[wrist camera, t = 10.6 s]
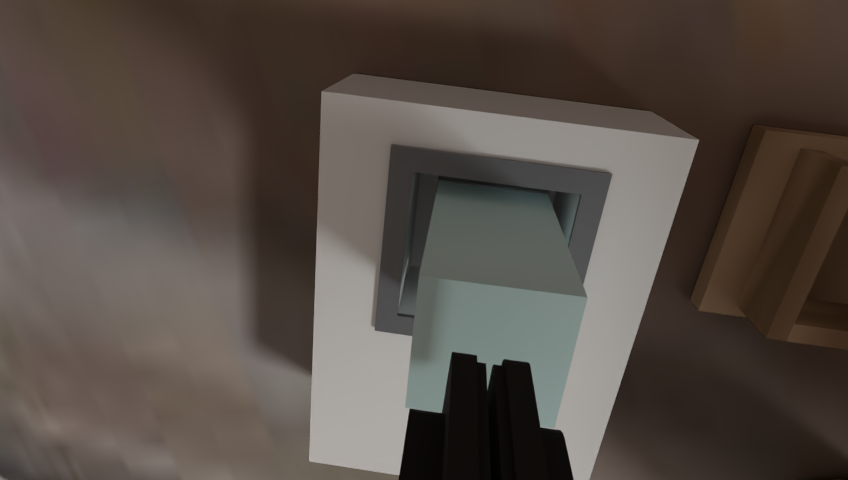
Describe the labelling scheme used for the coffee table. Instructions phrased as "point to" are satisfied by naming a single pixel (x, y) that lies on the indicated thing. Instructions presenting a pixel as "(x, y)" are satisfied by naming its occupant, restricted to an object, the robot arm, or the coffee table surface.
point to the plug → (495, 291)
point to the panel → (409, 223)
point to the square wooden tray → (784, 240)
